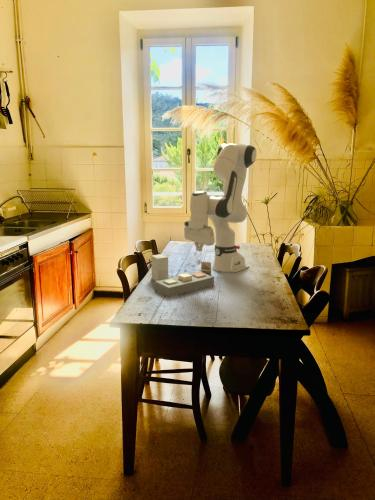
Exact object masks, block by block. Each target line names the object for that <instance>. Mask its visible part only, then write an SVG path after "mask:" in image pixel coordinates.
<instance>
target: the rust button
mask: <svg viewBox="0 0 375 500" xmlns="http://www.w3.org/2000/svg"><path fill="white" fill-rule="evenodd" d="M193 276H194V277H196V278H202V277H206V275H204V274H202V273H197V274H193Z"/></svg>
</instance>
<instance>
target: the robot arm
mask: <svg viewBox="0 0 375 500" xmlns="http://www.w3.org/2000/svg"><path fill="white" fill-rule="evenodd" d="M216 155H217V157H216V159H215V162H214V164H213V173H214V174H215V176H216V177H217V178H218V179H219V180H220V181H222V182H224V183H223V186H222V192H223V195H222V196H219V197H218V196H211V195H208V193H207V191H205V190H196V191H193V192H192V193H191V195H190V202H189V203H190V204H189V205H190V206H189V211H190V217H189V218H190V219H189V220H186V221H184V222H183V223H184V224H183V225H184V228H183V234H184V238H185V240H188V241H191V242H193V243H194V246H195V251H196V252H197V251H198V252H202V251H203V248H204V245H205V246H209V247H210V246H213V245H214V260H213V265H212V266H211V270H214V271H216V272H223V273H237V272H240V271H243V270H245V269H248V268H250V266H249V264H247V263H246V259H245V256H243V255H242V254H241V253H240V252H238V250H239V249H241V245H238V244H236V243H235V242H236V233H235V230H234V229H233V228H231V226H230V224H229V223H231V224H232V223H233V224H237V223H238V224H239V223H243V222H244V221H245V220H246V219H247V216H248V211H247V207H246V206H245V205H244V204H243V200H242V199H243V198H242V197H243V196H242V194H243V190H244V185H245V182H246V177H247V170H248V169H249V167H250V166H252V165H253V164H254V163H255V161H256V159H257V148H255V147H254V146H253V145H248V144H242V143H229V142H228V143H221V145H219V147H218V148H217V154H216ZM209 220H210V221H211V223H212V225H213V227H214V229H213V228H212V226H211V225H209ZM235 244H236V245H235ZM237 249H238V250H237Z"/></svg>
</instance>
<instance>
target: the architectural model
mask: <svg viewBox="0 0 375 500" xmlns="http://www.w3.org/2000/svg"><path fill="white" fill-rule="evenodd" d="M200 264H201V265H200V267H199V268H198V269H197V270H198V271H200V272H202V273H205V274H207V275H210V276H212V262H211V261H201V263H200Z"/></svg>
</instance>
